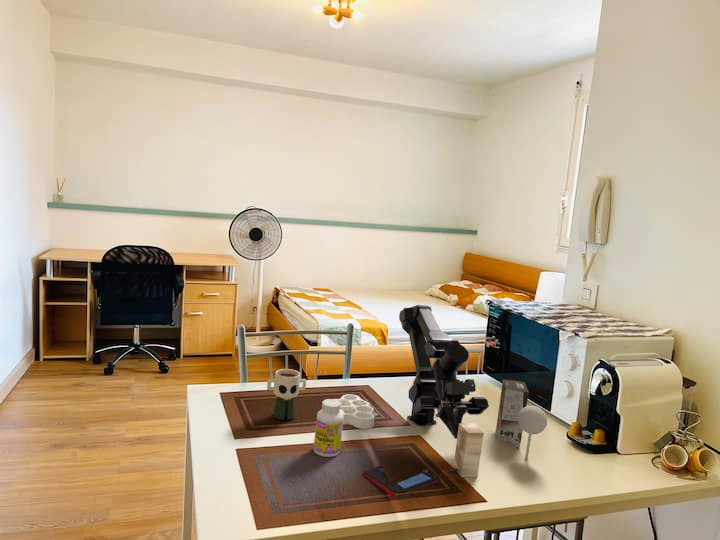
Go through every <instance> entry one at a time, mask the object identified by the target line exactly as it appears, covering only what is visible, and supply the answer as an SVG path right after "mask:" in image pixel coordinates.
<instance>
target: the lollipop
mask: <svg viewBox="0 0 720 540" xmlns="http://www.w3.org/2000/svg"><path fill="white" fill-rule="evenodd" d="M518 422H519V425H520V427H521V428H522V429H523V432H525V433H527V434H528V437H527V444H526V451H525V458H526V459H527V460H528V459H529V452H530V448H531V447H530V446H531V440H532V435H537V434H540V433H542V432H543V431H544V430H545V429H546V428H547V425H548V418H547V415H546V413H545V411H544V410H543V409H541V408H540V407H538V406H535V405H527V406H526V407H524V408H523V409H522V410H521V411H520V413H519V415H518Z"/></svg>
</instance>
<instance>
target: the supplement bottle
mask: <svg viewBox="0 0 720 540" xmlns="http://www.w3.org/2000/svg"><path fill="white" fill-rule="evenodd" d="M334 399H335V398H333V399H332V398H327V399H324V400H323V401H322V402H321V403H322V404H321V409H320V410H318V412H317V414H316V421H315V429H314V430H315V431H314V439H313V452H314V453H315V454H317V455H318V456H320V457H324V458H332V457H336V456H337V455H339V453H340V450H341V444H342V435H343V428H344V427H343V426H344V425H343V419H344V417H343V414H342V413H341V412H340V409H341V402H340V401H338V400H334Z"/></svg>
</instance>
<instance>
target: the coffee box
mask: <svg viewBox="0 0 720 540" xmlns="http://www.w3.org/2000/svg"><path fill="white" fill-rule="evenodd" d="M500 391H501V392H500V398H499V404H498V405H499V406H498V412H497V420H496V427H495V434H496V435H497V439H498V440H500V441H506V442H509V443H510V444H511V445H512V446H513V447H515V448H521V443H522V437H523V432H524V430H523V429H522V428H521V427H520V425H519V422H518V415H519V413H520V411H521V410H522V409H523V408H524V407H526V406H528V399H529V394H530V392H529V390H528V386H527V384H526V382H523V381H517V380H513V379H512V380H509V379H502V384H501V390H500Z"/></svg>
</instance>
